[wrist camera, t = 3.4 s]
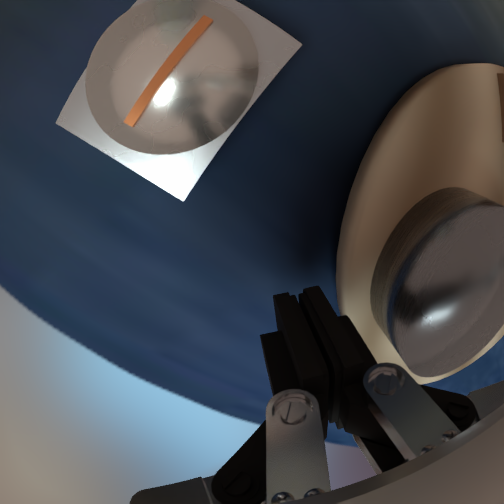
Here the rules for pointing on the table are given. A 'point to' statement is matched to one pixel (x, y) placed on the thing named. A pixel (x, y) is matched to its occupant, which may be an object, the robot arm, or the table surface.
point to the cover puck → (442, 281)
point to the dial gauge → (174, 85)
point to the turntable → (419, 179)
